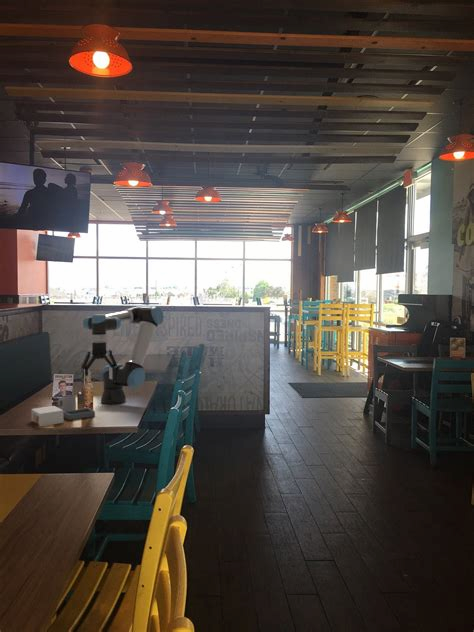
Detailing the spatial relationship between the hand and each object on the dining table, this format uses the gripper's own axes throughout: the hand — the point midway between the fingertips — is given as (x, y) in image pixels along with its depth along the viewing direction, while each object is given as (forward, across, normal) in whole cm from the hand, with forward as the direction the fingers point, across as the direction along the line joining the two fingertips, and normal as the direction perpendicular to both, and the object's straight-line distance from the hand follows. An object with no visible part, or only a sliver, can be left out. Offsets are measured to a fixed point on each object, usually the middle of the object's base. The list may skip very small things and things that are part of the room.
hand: (99, 380), depth 291 cm
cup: (+19, -13, +16) cm, 28 cm away
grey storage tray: (+19, -12, 0) cm, 22 cm away
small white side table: (+19, -29, -1) cm, 35 cm away
